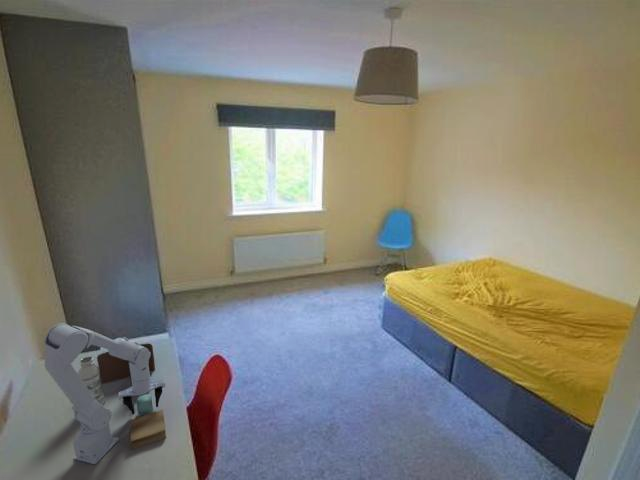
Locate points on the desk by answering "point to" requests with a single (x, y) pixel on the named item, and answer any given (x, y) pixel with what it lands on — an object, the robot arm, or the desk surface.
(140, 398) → the teal tapered rounded part
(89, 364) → the plastic bottle
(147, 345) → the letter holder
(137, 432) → the block
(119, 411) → the desk surface
